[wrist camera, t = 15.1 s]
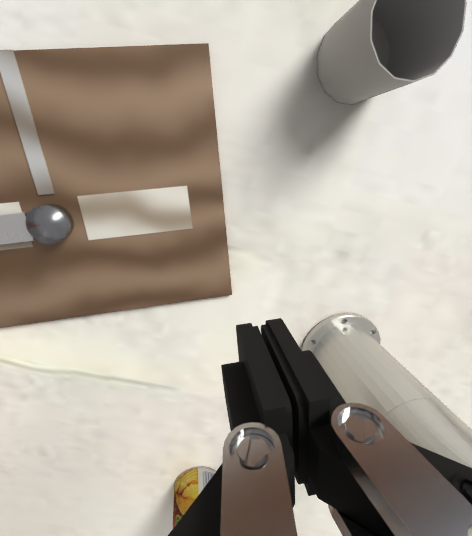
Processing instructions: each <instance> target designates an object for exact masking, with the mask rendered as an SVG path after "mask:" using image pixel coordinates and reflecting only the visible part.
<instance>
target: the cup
mask: <svg viewBox="0 0 472 536" xmlns="http://www.w3.org/2000/svg"><path fill="white" fill-rule="evenodd" d="M466 4H467V2H466V0H359V1H358V2H357V3H356V4H355V5H354V6H353V7H352V8H351V9H350V10H349V11H348V12H346V13H345V14H344V15H343V16H342V17H341V18H340V19H339V20H338V21H337V22H336V23H335V24H334V25H333V27H332V28H331V29H330V30H329V31H328V32H327V33H326V34H325V36H324V38H323V40H322V43H321V46H320V49H319V52H318V55H317V65H318V77H319V79H320V82H321V84H322V86H323V89H324V91H325V92H326V93H327V94H328V95H329V96H330V97H332V98H333V99H334V100H335V101H337V102H340V103H346V104H354V103H357V102H360V101H363V100H366V99H368V98H371V97H374V96H377V95H380V94H382V93H385V92H388V91H391V90H394V89H396V88H399V87H402V86H405V85H408V84H410V83H413V82H416V81H418V80H421V79H423V78H426V77H429V76H431V75H434V74H435V73H436V72H437V71H438V70H439V69H440V68H441V67H442V66H443V65H444V64H445V63H446V62H447V60H448V59H449V58H450V57H451V56H452V54H453V52H454V50H455V48H456V46H457V43H458V41H459V39H460V37H461V35H462V33H463V29H464V20H465V12H466Z"/></svg>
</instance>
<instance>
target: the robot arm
mask: <svg viewBox="0 0 472 536" xmlns="http://www.w3.org/2000/svg"><path fill="white" fill-rule="evenodd" d="M236 332H237V343H238V354H239V362H236V363H230V364H224V365H221V366H222V375H223V384H224V391H225V398H226V405H227V411H228V417H229V423H230V429H231V432H230V433H229V434H228V436H227V438H226V439H225V442H224V447H223V463H222V465H221V466H220V467H219V469H218V470H217V471H216V473H215V474H214V475H213V477H212V478H211V479H210V481H209V482H208V483H207V485H206V486H205V487H204V488H203V490H202V491H201V492H200V494H199V495H198V496H197V498H196V499H195V500H194V502H193V503H192V504H191V506H190V507H189V508H188V510H187V511H186V512H185V514H184V515H183V516H182V518H181V519H180V520H179V522H178V523H177V524H176V526H175V527H174V528H173V530H172V531H171V532H170V534H169V535H168V536H297V531H296V525H295V519H294V513H293V507H294V505H295V478H296V480H297V482H298V484H302V483H304V485H305V487H306V490H307V493H308V496H311V495H315V494H316V495H317V497H318V498H319V499H320V500H322V501H324V502H325V503H327V504H328V507H329V510H330V513H331V515H332V517H333V519H334V521H335V523H336V524H337V526H338V528H339V530H340V532H341V533H342V535H343V536H472V429H471V428H470V427H468V426H467V425H466V424H465V423H464V422H463V421H462V420H461V419H460V418H458V417H457V416H456V415H455V414H454V413H453V412H452V411H451V410H450V409H449V408H448V407H447V406H446V405H444V404H443V403H442V402H441V401H440V400H439V399H438V398H437V397H436V396H435V395H434V394H433V393H432V392H430V391H429V390H428V389H427V388H426V387H425V386H424V385H423V384H422V383H421V382H420V381H419V380H418V379H417V378H415V377H414V376H413V375H412V374H411V373H410V372H409V371H408V370H407V369H406V368H405V367H404V366H403V365H401V364H400V363H399V362H398V361H397V360H396V359H395V358H394V357H393V356H392V355H391V354H390V353H389V352H388V351H386V350H385V349H384V348H383V347H382V346H381V345H380V335H379V332H378V330H377V328H376V327H375V325H374V324H373V323H372V322H371V321H369V320H368V319H367V318H365V317H363V316H362V315H358V314H355V313H342V314H337V315H333V316H331V317H329V318H327V319H325V320H323V321H322V322H320V323H319V324H317V325H316V326H315V327H314V328H313V329H312V330H311V332H310V333H309V334H308V335H307V337H306V339H305V341H304V343H303V346H302V351H301V350H300V348H299V346H298V345H297V343H296V341H295V340H294V338H293V337H292V335H291V333H290V332H289V330H288V328H287V327H286V325H285V324H284V322H283V320H282V319H281V318H279V319H273V320H267V321H266V325H261V333H260V331H259V328H258V326H254V327H253V326H252V324H251V323H247V324H241V325H236Z"/></svg>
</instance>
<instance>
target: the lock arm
mask: <svg viewBox="0 0 472 536" xmlns="http://www.w3.org/2000/svg"><path fill="white" fill-rule="evenodd" d="M73 227H74V223H73V219H72V216H71V215H70V213H69V212H68V211H67V210H66V209H65V208H63V207H61V206H59V205H56V204H45V205H42V206H39V207H35V208H33V209H32V210H31V211H30V212H29V211H27V212H18V213H9V214H0V245H2V244H10V243H18V242H26V241H34V240H38V241H40V242H42V243H46V244H54V243H57V242H60V241H61V240H63V239H65V238H66V237H68V236H69V235H70V234H71V232H72V230H73Z"/></svg>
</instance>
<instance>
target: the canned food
mask: <svg viewBox="0 0 472 536" xmlns="http://www.w3.org/2000/svg"><path fill="white" fill-rule="evenodd" d="M215 473H216V471H215V470H214V469H212V468H209V467H194V468H190V469H188V470H186V471H184V472H183V473H181V474H180V475H179V476H178V477H177V479H176V481H175V485H174V511H173V528H174V527H175V526H176V524H177V523H178V522H179V520H180V519H181V518H182V516H183V515H184V514H185V512H186V511H187V510H188V508H189V507H190V506H191V504H192V503H193V502H194V500H195V499H196V498H197V496H198V495H199V494H200V492H201V491H202V490H203V488H204V487H205V486H206V485H207V483H208V482H209V481H210V479H211V478H212V477H213V475H214V474H215Z"/></svg>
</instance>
